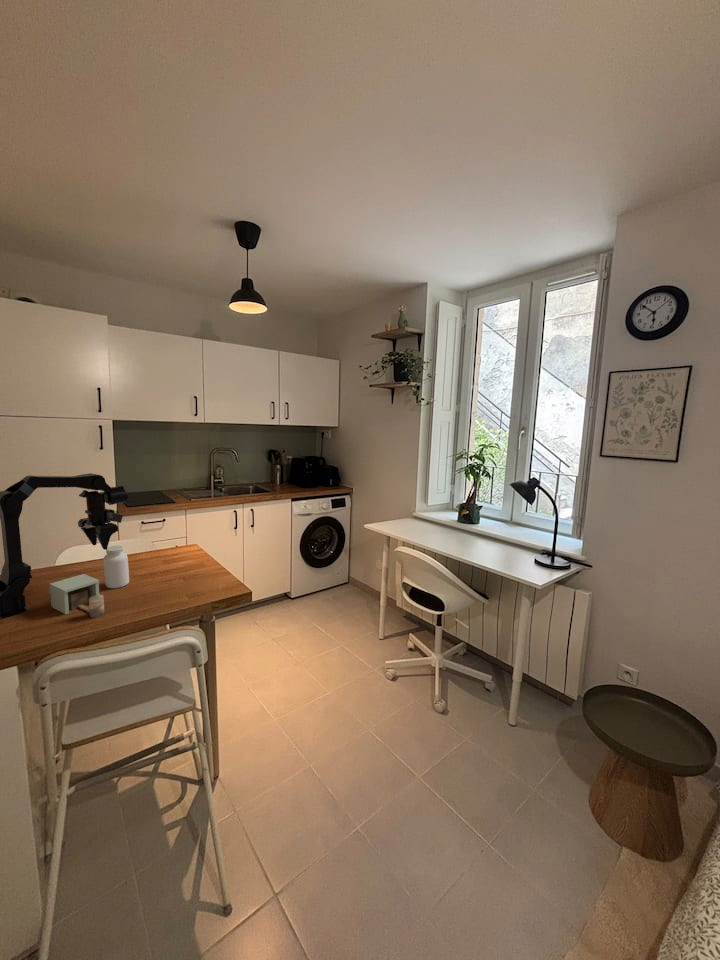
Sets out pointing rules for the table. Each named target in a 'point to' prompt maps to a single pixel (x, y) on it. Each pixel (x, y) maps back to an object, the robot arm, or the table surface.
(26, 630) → the table surface
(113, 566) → the pill bottle
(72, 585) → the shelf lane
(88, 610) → the beige dumbbell
